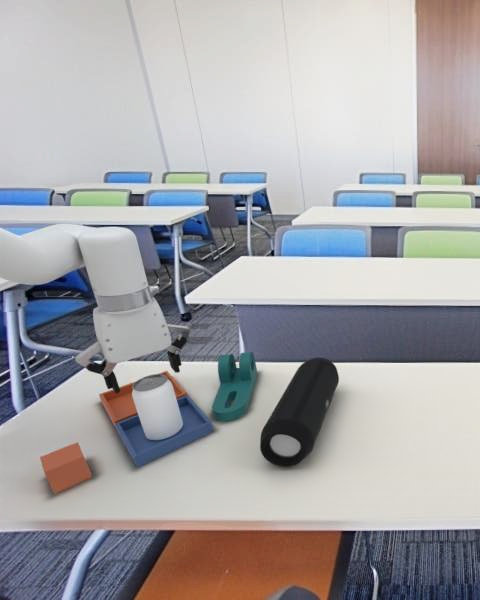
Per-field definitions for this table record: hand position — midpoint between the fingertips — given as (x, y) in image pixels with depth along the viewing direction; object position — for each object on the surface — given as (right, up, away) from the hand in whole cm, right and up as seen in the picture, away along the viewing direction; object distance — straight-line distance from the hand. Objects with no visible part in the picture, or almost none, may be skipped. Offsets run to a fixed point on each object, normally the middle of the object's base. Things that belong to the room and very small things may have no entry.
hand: (147, 379), depth 77 cm
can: (0, -12, +5) cm, 13 cm away
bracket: (+8, -8, +17) cm, 20 cm away
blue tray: (0, -12, +5) cm, 13 cm away
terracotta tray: (-11, -8, +14) cm, 19 cm away
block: (-9, -16, -6) cm, 20 cm away
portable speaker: (+28, -12, +9) cm, 31 cm away
